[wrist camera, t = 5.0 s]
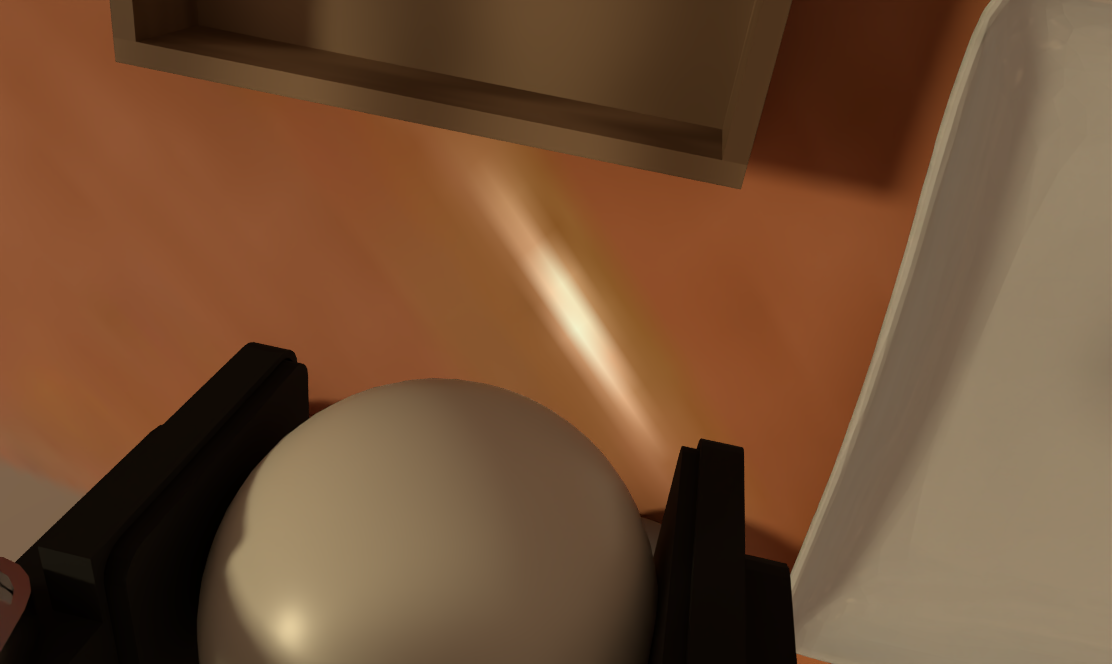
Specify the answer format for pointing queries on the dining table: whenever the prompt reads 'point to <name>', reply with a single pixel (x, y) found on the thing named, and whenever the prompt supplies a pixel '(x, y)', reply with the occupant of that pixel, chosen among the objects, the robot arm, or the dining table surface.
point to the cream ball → (430, 540)
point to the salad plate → (987, 380)
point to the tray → (496, 67)
